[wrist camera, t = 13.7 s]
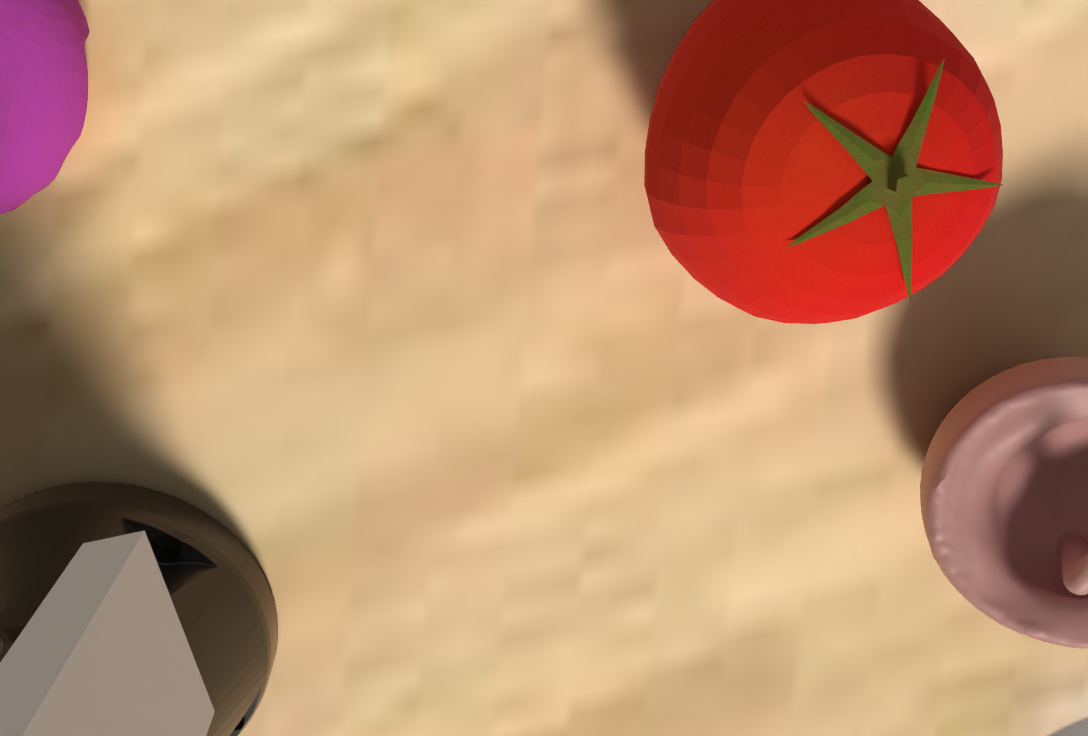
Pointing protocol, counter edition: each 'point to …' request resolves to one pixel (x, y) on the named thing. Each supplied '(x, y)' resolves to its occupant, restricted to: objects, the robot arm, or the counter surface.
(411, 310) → the counter surface
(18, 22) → the donut
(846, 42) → the tomato
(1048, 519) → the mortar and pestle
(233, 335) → the counter surface
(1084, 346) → the counter surface
